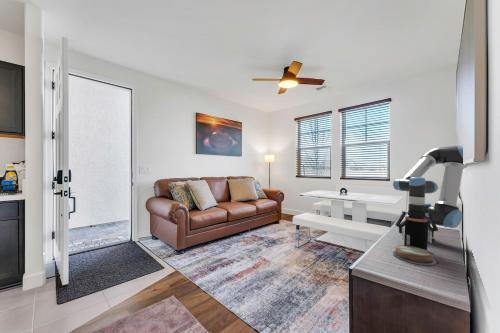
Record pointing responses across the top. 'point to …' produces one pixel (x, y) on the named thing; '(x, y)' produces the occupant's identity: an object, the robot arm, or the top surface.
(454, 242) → the top surface
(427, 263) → the wheel base
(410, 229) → the coffee jar
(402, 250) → the index wheel
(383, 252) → the top surface
